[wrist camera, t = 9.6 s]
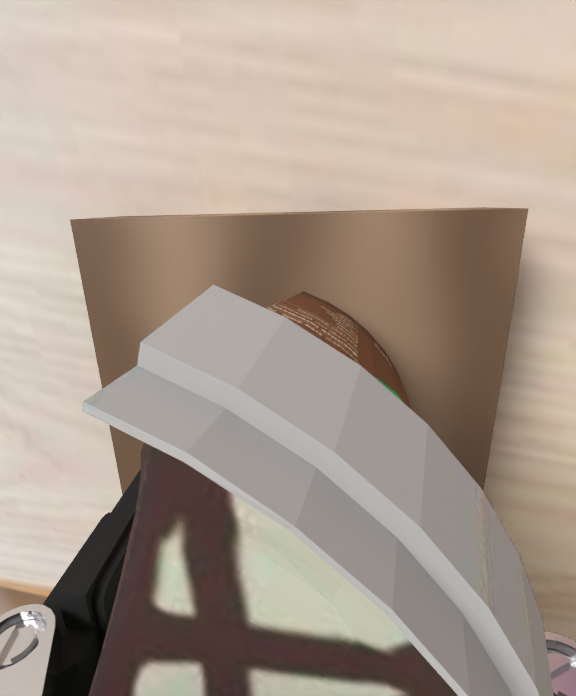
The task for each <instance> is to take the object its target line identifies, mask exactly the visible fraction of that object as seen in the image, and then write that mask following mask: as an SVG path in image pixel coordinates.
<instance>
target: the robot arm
mask: <svg viewBox="0 0 576 696" xmlns="http://www.w3.org/2000/svg"><path fill="white" fill-rule="evenodd" d="M140 479H141V469H140V470H139V472H138V473H137V475H136V476H135V478H134V479H133V481H132V482H131V484H130V485H129V487H128V488H127V490H126V491H125V493H124V494H123V496H122V497H121V499H120V500H119V502H118V503H117V505H116V506H115V508H114V509H113V511H112V512H111V513H108V514H106V515H105V516H104V517H103V518H102V519H101V520H100V522H99V523H98V525H97V526H96V528H95V529H94V531H93V532H92V534H91V535H90V536H89V538H88V539H87V541H86V542H85V544H84V545H83V547H82V548H81V550H80V551H79V552H78V554H77V555H76V557H75V558H74V560H73V561H72V563H71V564H70V566H69V567H68V568H67V570H66V571H65V573H64V574H63V576H62V577H61V579H60V580H59V582H58V583H57V584H56V586H55V587H54V589H53V590H52V592H51V593H50V595H49V596H48V598H47V599H46V600H45V602H44V604H43V605H39V604H30V605H25V606H21V607H18V608H15V609H13V610H10V611H8V612H7V613H5V614H3V615H2V616H0V696H88V695H89V692H90V689H91V685H92V682H93V679H94V675H95V672H96V669H97V665H98V662H99V658H100V655H101V651H102V647H103V643H104V640H105V636H106V632H107V628H108V624H109V620H110V616H111V613H112V609H113V605H114V601H115V597H116V593H117V590H118V586H119V581H120V577H121V573H122V568H123V564H124V560H125V555H126V551H127V547H128V542H129V538H130V533H131V529H132V525H133V520H134V516H135V511H136V505H137V498H138V492H139V485H140ZM544 632H545V631H544ZM545 639H546V646H547V653H548V660H549V666H550V673H551V680H552V687H553V694H554V696H576V642H575V641H573V640H571V639H569V638H567V637H565V636H563V635H560V634H556V633H552V632H545Z"/></svg>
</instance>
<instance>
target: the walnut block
mask: <svg viewBox="0 0 576 696" xmlns="http://www.w3.org/2000/svg"><path fill="white" fill-rule="evenodd" d="M527 213H528V209H524V208H446V209H405V210H365V211H324V212H284V213H243V214H203V215H162V216H122V217H105V218H90V219H74V220H70V221H71V226H72V232H73V237H74V242H75V247H76V253H77V258H78V263H79V268H80V274H81V279H82V284H83V289H84V295H85V300H86V305H87V310H88V316H89V321H90V326H91V331H92V337H93V342H94V347H95V352H96V357H97V363H98V368H99V373H100V378H101V384H102V389H103V388H104V387H106V386H107V385H109V384H110V383H112V382H113V381H115V380H116V379H118V378H119V377H121V376H122V375H124V374H125V373H127V372H128V371H130V370H131V369H133V368H134V367H136V366H137V363H138V355H139V349H140V342H141V341H142V340H144V339H145V338H146V337H148V336H149V335H150V334H151V333H153V332H154V331H155V330H156V329H158V328H159V327H160V326H162V325H163V324H164V323H165V322H167V321H168V320H169V319H170V318H172V317H173V316H174V315H176V314H177V313H178V312H179V311H181V310H182V309H183V308H184V307H186V306H187V305H188V304H190V303H191V302H192V301H193V300H195V299H196V298H197V297H198V296H200V295H201V294H202V293H204V292H205V291H206V290H207V289H209V288H210V287H211V286H212V285H215V286H218V287H220V288H222V289H224V290H226V291H229V292H231V293H233V294H235V295H237V296H240V297H242V298H244V299H246V300H249V301H251V302H253V303H255V304H257V305H260V306H262V307H264V308H267V307H269V306H272V305H274V304H276V303H278V302H280V301H282V300H285V299H287V298H289V297H291V296H293V295H295V294H298V293H300V292H302V291H304V292H307V293H309V294H311V295H313V296H316V297H318V298H320V299H323V300H325V301H327V302H329V303H331V304H332V305H334V306H336V307H337V308H339V309H340V310H342V311H344V312H345V313H347V314H348V315H350V316H351V317H352V318H353V319H354V320H356V321H357V322H358V323H359V324H360V325H361V326H363V327H364V328H365V329H366V330H367V331H368V332H369V333H370V334H371V335H372V336H373V337H374V339H375V340H376V341H377V342H378V343H379V344H380V346H381V347H382V348H383V349H384V350H385V352H386V353H387V355H388V357H389V358H390V360H391V362H392V363H393V365H394V367H395V368H396V370H397V372H398V374H399V377H400V379H401V382H402V384H403V387H404V389H405V392H406V395H407V398H408V400H409V403H410V406H411V409H412V411H413V412H414V413H416V414H417V415H418V416H419V417H420V418H421V419H422V420H424V421H425V422H426V423H427V424H428V425H429V426H430V427H431V429H432V430H433V431H434V432H435V433H436V435H437V436H438V437H439V438H440V439H441V441H442V442H443V443H444V444H445V445H446V447H447V448H448V449H449V450H450V451H451V453H452V454H453V455H454V456H455V457H456V459H457V460H458V461H459V462H460V463H461V465H462V466H463V467H464V468H465V469H466V471H467V472H468V473H469V474H470V475H471V477H472V478H473V479H474V480H475V481H476V483H477V484H478V485H479V486H480V487H481V489H482V490H483V489H484V482H485V476H486V470H487V463H488V457H489V451H490V445H491V438H492V432H493V426H494V420H495V413H496V407H497V401H498V395H499V388H500V382H501V376H502V370H503V363H504V357H505V351H506V345H507V338H508V332H509V326H510V320H511V313H512V307H513V301H514V295H515V288H516V282H517V276H518V269H519V263H520V257H521V251H522V244H523V238H524V232H525V226H526V219H527ZM109 426H110V431H111V436H112V441H113V447H114V452H115V457H116V462H117V468H118V473H119V478H120V483H121V489H122V494H124V493H125V491H126V490H127V488H128V487H129V485H130V484H131V482H132V481H133V479H134V478H135V476H136V475H137V473H138V472H139V470H140V469H141V449H142V447H143V444H144V442H143V441H141V440H139V439H137V438H135V437H133V436H131V435H129V434H127V433H125V432H123V431H121V430H119V429H117V428H115V427H113V426H111V425H109Z"/></svg>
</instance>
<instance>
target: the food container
mask: <svg viewBox="0 0 576 696" xmlns="http://www.w3.org/2000/svg"><path fill="white" fill-rule="evenodd" d="M82 411H83V412H85V413H87V414H89V415H91V416H93V417H95V418H97V419H99V420H101V421H103V422H105V423H107V424H109V425H111V426H113V427H115V428H117V429H119V430H121V431H123V432H125V433H127V434H129V435H131V436H133V437H135V438H137V439H139V440H141V441H143V442H144V444H143V447H142V449H141V479H140V485H139V492H138V498H137V505H136V511H135V516H134V520H133V525H132V529H131V533H130V538H129V542H128V547H127V551H126V555H125V560H124V564H123V568H122V573H121V577H120V581H119V586H118V590H117V593H116V597H115V601H114V605H113V609H112V613H111V616H110V620H109V624H108V628H107V632H106V636H105V640H104V643H103V647H102V651H101V655H100V658H99V662H98V665H97V669H96V672H95V675H94V679H93V682H92V685H91V689H90V692H89V695H88V696H554V694H553V687H552V680H551V673H550V666H549V660H548V653H547V646H546V639H545V632H544V625H543V619H542V616H541V614H540V611H539V608H538V605H537V602H536V599H535V596H534V594H533V591H532V588H531V585H530V582H529V579H528V576H527V573H526V571H525V568H524V565H523V562H522V559H521V556H520V554H519V552H518V551H517V549H516V547H515V545H514V544H513V542H512V540H511V539H510V537H509V535H508V533H507V532H506V530H505V528H504V527H503V525H502V523H501V521H500V520H499V518H498V516H497V514H496V513H495V511H494V509H493V508H492V506H491V504H490V502H489V501H488V499H487V497H486V496H485V494H484V492H483V490H482V489H481V487H480V486H479V485H478V484H477V483H476V481H475V480H474V479H473V478H472V477H471V475H470V474H469V473H468V472H467V471H466V469H465V468H464V467H463V466H462V465H461V463H460V462H459V461H458V460H457V459H456V457H455V456H454V455H453V454H452V453H451V451H450V450H449V449H448V448H447V447H446V445H445V444H444V443H443V442H442V441H441V439H440V438H439V437H438V436H437V435H436V433H435V432H434V431H433V430H432V429H431V427H430V426H429V425H428V424H427V423H426V422H425V421H424V420H422V419H421V418H420V417H419V416H418V415H417V414H416V413H414V412H413V411H412V409H411V406H410V403H409V400H408V398H407V395H406V392H405V389H404V387H403V384H402V382H401V379H400V377H399V374H398V372H397V370H396V368H395V367H394V365H393V363H392V362H391V360H390V358H389V357H388V355H387V353H386V352H385V350H384V349H383V348H382V347H381V346H380V344H379V343H378V342H377V341H376V340H375V339H374V337H373V336H372V335H371V334H370V333H369V332H368V331H367V330H366V329H365V328H364V327H363V326H361V325H360V324H359V323H358V322H357V321H356V320H354V319H353V318H352V317H351V316H350V315H348V314H347V313H345V312H344V311H342V310H340V309H339V308H337V307H336V306H334V305H332V304H331V303H329V302H327V301H325V300H323V299H320V298H318V297H316V296H313V295H311V294H309V293H307V292H304V291H302V292H300V293H298V294H295V295H293V296H291V297H289V298H287V299H285V300H282V301H280V302H278V303H276V304H274V305H272V306H269V307H267V308H264V307H262V306H260V305H257V304H255V303H253V302H251V301H249V300H246V299H244V298H242V297H240V296H237V295H235V294H233V293H231V292H229V291H226V290H224V289H222V288H220V287H218V286H215V285H212V286H211V287H210V288H209V289H207V290H206V291H205V292H204V293H202V294H201V295H200V296H198V297H197V298H196V299H195V300H193V301H192V302H191V303H190V304H188V305H187V306H186V307H184V308H183V309H182V310H181V311H179V312H178V313H177V314H176V315H174V316H173V317H172V318H170V319H169V320H168V321H167V322H165V323H164V324H163V325H162V326H160V327H159V328H158V329H156V330H155V331H154V332H153V333H151V334H150V335H149V336H148V337H146V338H145V339H144V340H142V341H141V342H140V349H139V355H138V363H137V366H136V367H134V368H133V369H131V370H130V371H128V372H127V373H125V374H124V375H122V376H121V377H119V378H118V379H116V380H115V381H113V382H112V383H110V384H109V385H107V386H106V387H104V388H103V389H102V390H100V391H99V392H97V393H96V394H94V395H93V396H91V397H90V398H88V399H87V400H85V401H84V402H83V410H82Z"/></svg>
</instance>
